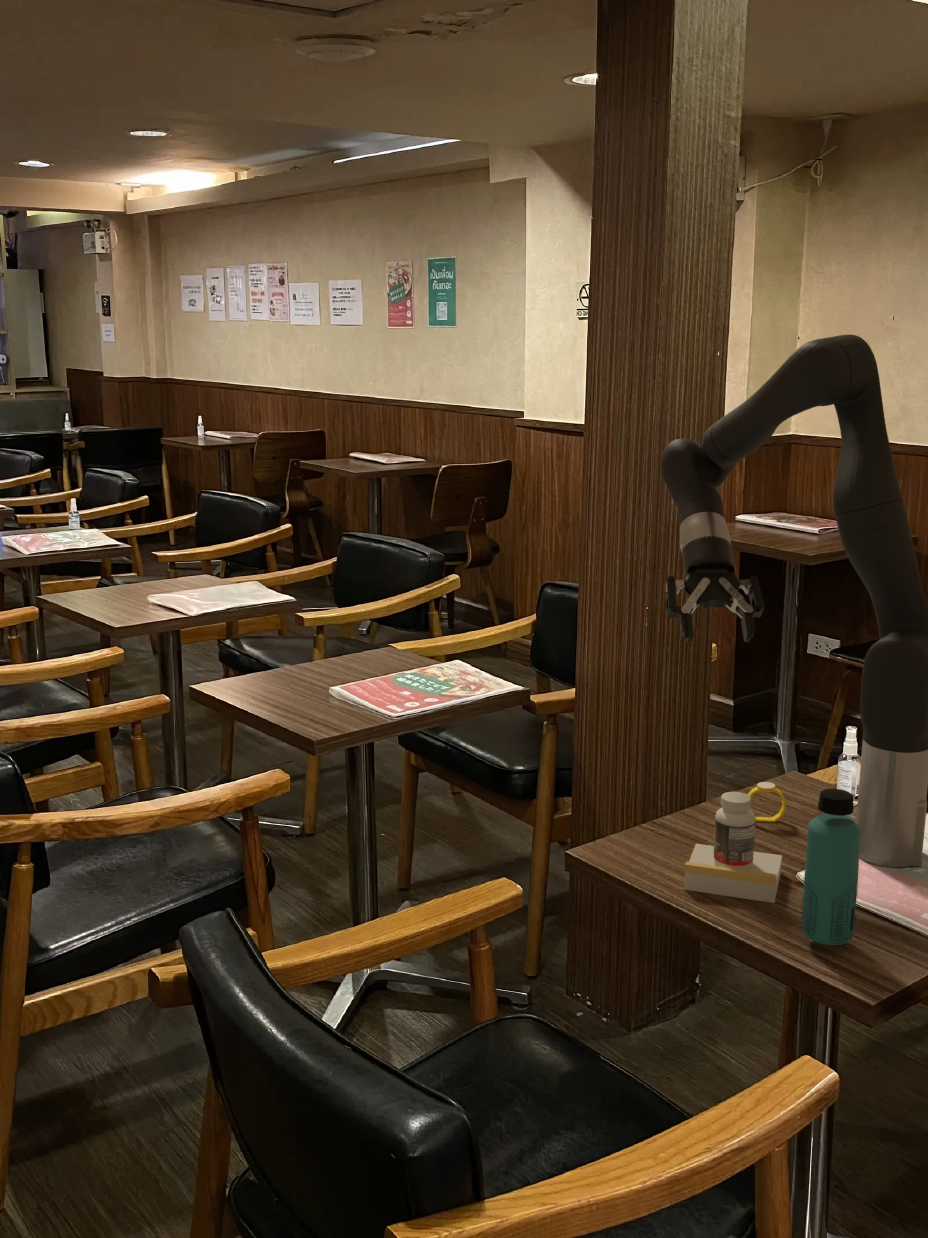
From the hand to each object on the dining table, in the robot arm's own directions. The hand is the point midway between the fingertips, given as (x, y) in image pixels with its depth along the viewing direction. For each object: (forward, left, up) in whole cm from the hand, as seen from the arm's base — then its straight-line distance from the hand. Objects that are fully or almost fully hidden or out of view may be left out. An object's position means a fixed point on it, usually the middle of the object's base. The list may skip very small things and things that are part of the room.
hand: (719, 639), depth 175 cm
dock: (-6, +17, -30) cm, 35 cm away
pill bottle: (-5, +16, -28) cm, 33 cm away
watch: (-8, -6, -30) cm, 32 cm away
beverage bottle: (-19, +31, -30) cm, 47 cm away
